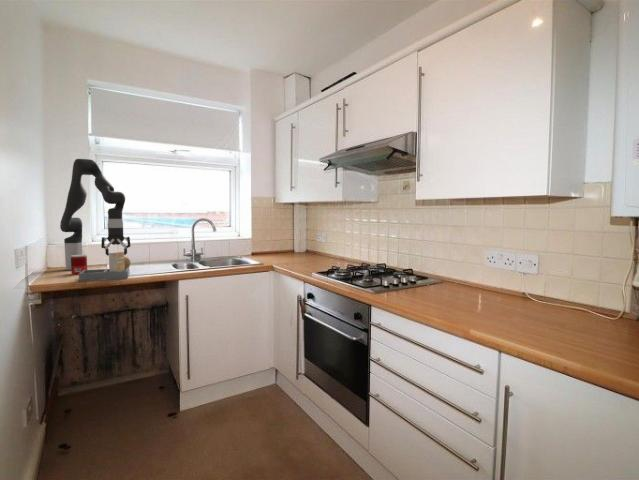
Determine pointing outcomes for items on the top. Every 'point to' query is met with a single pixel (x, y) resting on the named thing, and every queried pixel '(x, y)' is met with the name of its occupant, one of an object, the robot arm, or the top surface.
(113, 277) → the organiser tray
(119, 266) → the supplement box
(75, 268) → the canned food
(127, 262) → the natural sponge
